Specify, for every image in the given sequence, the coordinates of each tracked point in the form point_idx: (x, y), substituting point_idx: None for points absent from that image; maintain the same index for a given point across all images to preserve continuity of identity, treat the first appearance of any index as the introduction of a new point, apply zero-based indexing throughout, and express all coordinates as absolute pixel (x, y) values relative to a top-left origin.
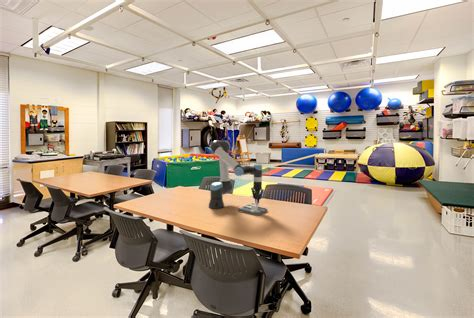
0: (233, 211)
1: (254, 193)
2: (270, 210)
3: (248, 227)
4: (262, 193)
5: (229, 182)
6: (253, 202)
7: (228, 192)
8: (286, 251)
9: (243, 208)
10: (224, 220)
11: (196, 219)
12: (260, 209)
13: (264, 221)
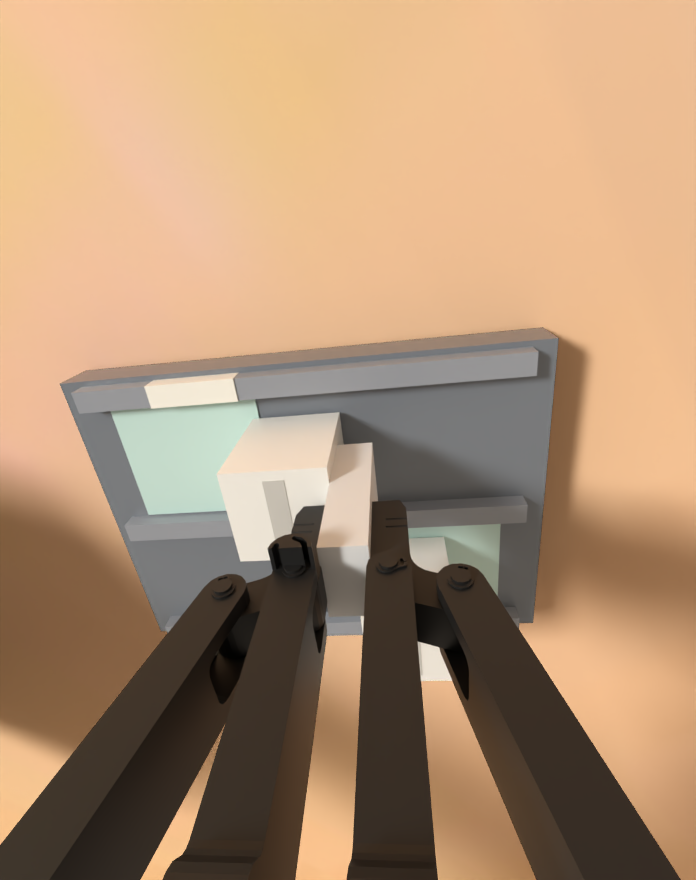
0: (148, 635)
1: (160, 755)
2: (568, 205)
3: None
4: (634, 823)
5: None
6: (251, 521)
7: None
8: None
9: (194, 576)
10: (316, 820)
11: (150, 876)
12: (445, 448)
13: (685, 685)
